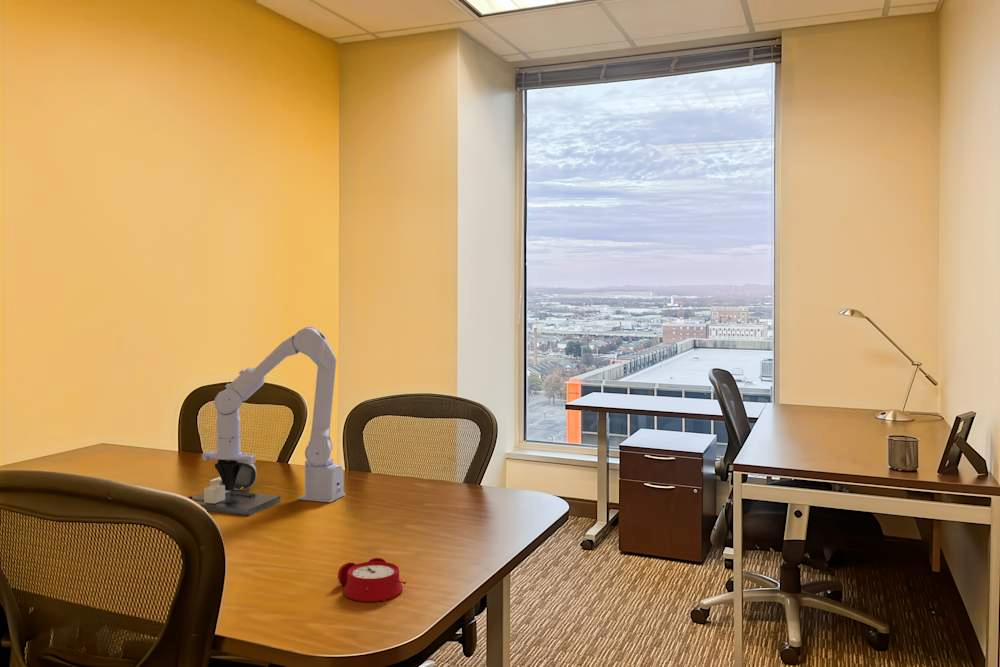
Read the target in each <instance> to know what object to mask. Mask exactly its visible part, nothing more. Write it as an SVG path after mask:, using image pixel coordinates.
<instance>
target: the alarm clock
mask: <svg viewBox="0 0 1000 667" xmlns="http://www.w3.org/2000/svg"><path fill="white" fill-rule="evenodd" d="M337 579H338V583H339V584H340V585H342V586H343V584H344V588H343V594H344V596H345V598H349V599H351V600H354V601H357V602H366V603H367V602H368V603H369V602H371V603H372V602H381V601H382V603H386V602H389V600H390V599H394V598H396V597H397V596H399V595H401V593H402V592H403V590H404V589H403V588H404V587H403V585H406V583H407V582H406V581H401V580H400V569H399V566H397V565H396V564H394V563H391V562H388V561H386V560H385V559H384V558H382V557H372V558H371V559H369V560H368V561H364V562H360V563H354V562H349V561H348V562H346V563H344V564H342V565H341V566H340V568H339V570H338V573H337ZM345 583H346V584H345Z"/></svg>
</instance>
